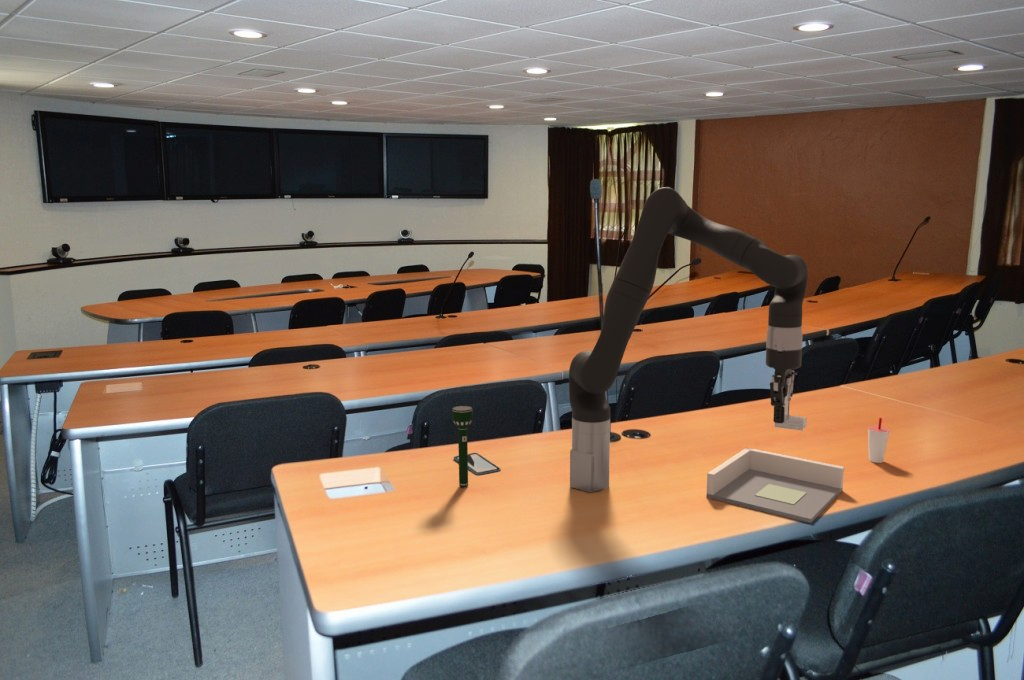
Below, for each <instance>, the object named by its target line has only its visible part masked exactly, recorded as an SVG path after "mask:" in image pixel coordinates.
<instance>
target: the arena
mask: <svg viewBox="0 0 1024 680" xmlns="http://www.w3.org/2000/svg"><path fill="white" fill-rule="evenodd" d="M844 472H845V466H841V465H836V464H832V463H827V462H823V461H822V462H821V461H816V460H810V459H805V458H801V457H795V456H792V455H785V454H780V453H775V452H770V451H767V450H766V451H764V450H761V449H755V448H750V447H746V448H745V447H744V449H742V450H740V451H739V452H738V453H736V454H735V455H733V456H731V457H729V458H728V459H727V460H725V461H724V462H722V463H721V464H719V465H718V466H716V467H714V468H713V469H712V470H710V471H708V472H707V476H706V477H707V478H706V498H707V499H710V500H715V501H719V502H724V503H727V504H730V505H736V506H739V507H744V508H747V509H751V510H756V511H759V512H764V513H767V514H771V515H776V516H779V517H783V518H787V519H792V520H796V521H800V522H804V523H807V524H812V523H813V522H814V521H815V520H816V519H817V517H818V516H820V514H822V512H823V511H824V510H825V509H826V508H828V507H829V505H830V504H831V503H832V502H833V501H834V500H835V499H836V498H837V497H838V496H839V495H840V494H841V493H842V492H843V489H844V488H843V486H844V475H845V473H844Z"/></svg>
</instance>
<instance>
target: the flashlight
mask: <svg viewBox="0 0 1024 680" xmlns="http://www.w3.org/2000/svg"><path fill="white" fill-rule="evenodd" d="M451 418H452V421H453V423H454V425H455V426H456V427H457V431H458V432H457V435H458V436H457V437H458V441H457V442H458V456H459V463H458V485H459V487H460V488H462V489H466V488H468V486H469V470H468V454H469V453H468V448H469V447H468V444H469V443H468V427H469V426H470V425H471V423H473V418H474V409H473V407H472V406H470V405H462V404H461V405H455V406H453V407H452V408H451Z"/></svg>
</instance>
